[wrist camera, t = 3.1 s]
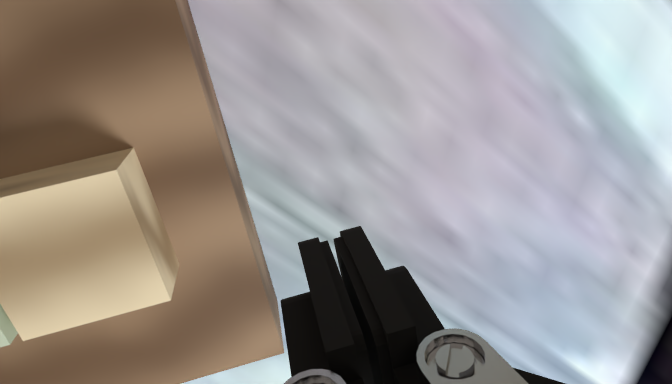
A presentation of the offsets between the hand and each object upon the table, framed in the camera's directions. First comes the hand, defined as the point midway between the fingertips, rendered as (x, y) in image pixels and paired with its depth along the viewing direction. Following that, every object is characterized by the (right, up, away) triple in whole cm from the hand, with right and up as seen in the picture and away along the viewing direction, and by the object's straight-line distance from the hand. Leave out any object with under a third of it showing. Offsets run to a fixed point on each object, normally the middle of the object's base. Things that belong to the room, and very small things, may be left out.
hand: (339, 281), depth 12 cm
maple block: (-11, +1, +8) cm, 14 cm away
